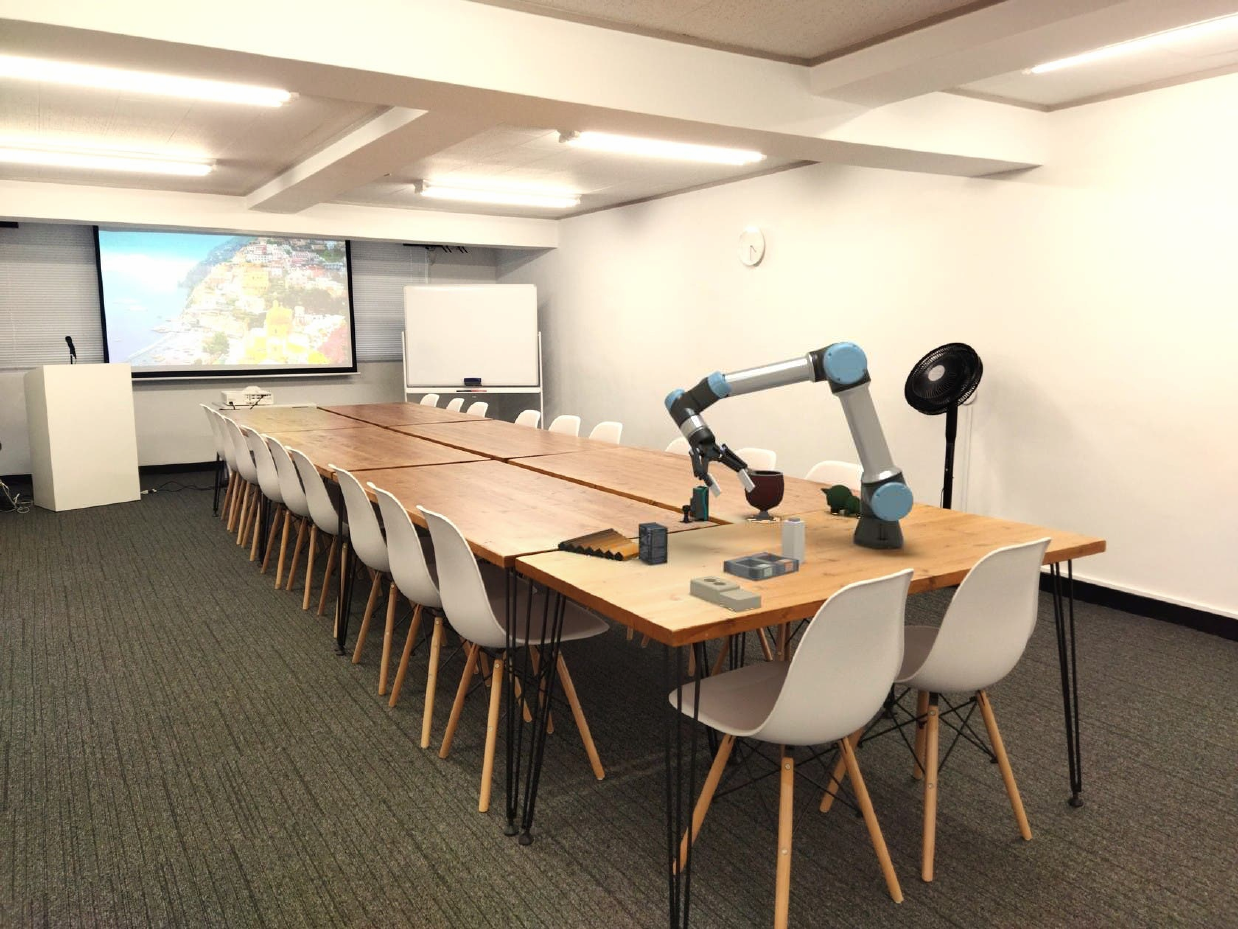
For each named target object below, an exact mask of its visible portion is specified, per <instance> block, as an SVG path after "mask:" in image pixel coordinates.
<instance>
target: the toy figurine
mask: <svg viewBox="0 0 1238 929" xmlns="http://www.w3.org/2000/svg"><path fill="white" fill-rule="evenodd" d="M820 491H821V492H823V494H824V495H825V499H826V500H825V501H826V506H828V507H829V508H830V510H829V511H830V513H831V514H832V513H838V514H840V512H841V511H843V515H844V516H846V517H850V516H851V515H855V518H856V517H860V498H859V496H857V495H853V492H852V491H851V489H850V488H849V487H848V486H847V485H846V486H845V485H844V484H835V485H833V486H831V487H829V488H826V487H822V488H820Z"/></svg>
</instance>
